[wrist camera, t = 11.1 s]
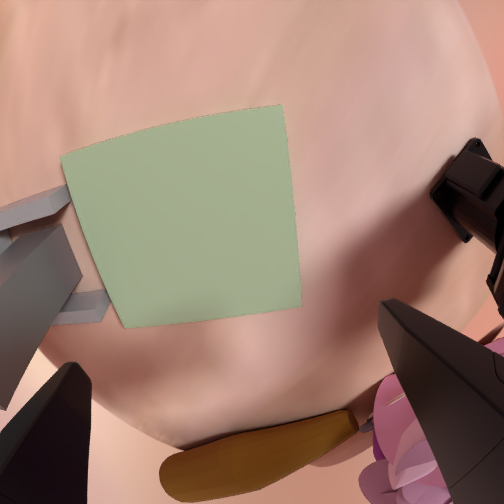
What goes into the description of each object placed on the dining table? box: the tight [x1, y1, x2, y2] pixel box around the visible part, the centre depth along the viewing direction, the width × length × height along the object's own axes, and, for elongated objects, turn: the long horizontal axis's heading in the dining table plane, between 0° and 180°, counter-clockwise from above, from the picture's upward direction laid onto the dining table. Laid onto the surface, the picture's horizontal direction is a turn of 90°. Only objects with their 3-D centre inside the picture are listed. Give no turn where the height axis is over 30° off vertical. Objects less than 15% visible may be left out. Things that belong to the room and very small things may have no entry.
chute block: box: [0, 224, 83, 411], centre depth 15 cm, size 4×4×13 cm
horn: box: [159, 410, 359, 502], centre depth 31 cm, size 8×10×25 cm
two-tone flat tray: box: [0, 105, 302, 328], centre depth 19 cm, size 23×14×2 cm, turn 98°
